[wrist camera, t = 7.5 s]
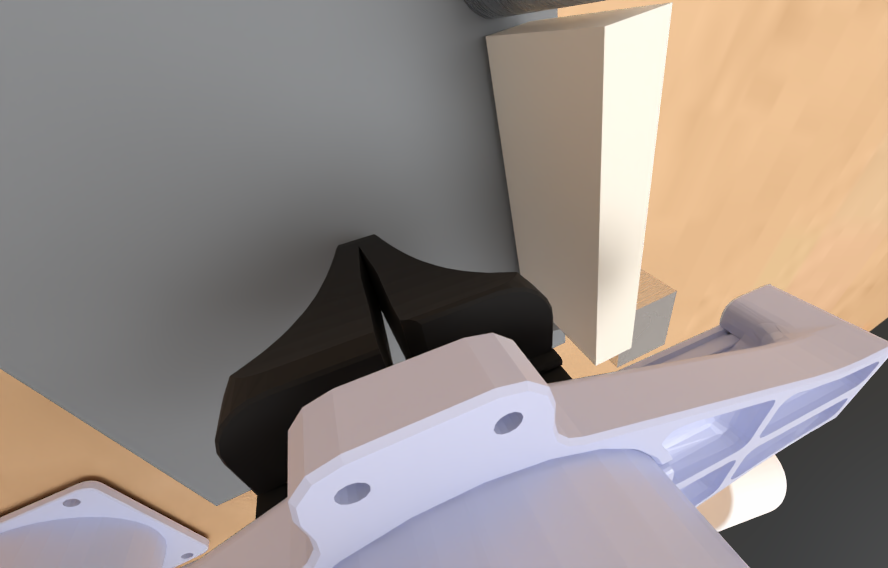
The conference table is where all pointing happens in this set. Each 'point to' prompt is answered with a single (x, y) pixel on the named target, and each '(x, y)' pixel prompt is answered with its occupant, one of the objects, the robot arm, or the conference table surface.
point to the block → (582, 160)
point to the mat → (224, 189)
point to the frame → (652, 293)
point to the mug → (747, 496)
